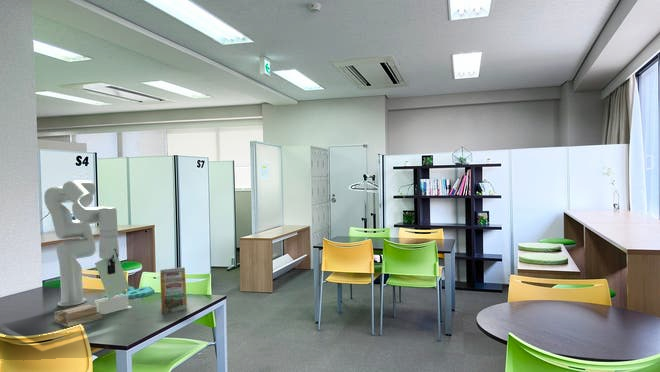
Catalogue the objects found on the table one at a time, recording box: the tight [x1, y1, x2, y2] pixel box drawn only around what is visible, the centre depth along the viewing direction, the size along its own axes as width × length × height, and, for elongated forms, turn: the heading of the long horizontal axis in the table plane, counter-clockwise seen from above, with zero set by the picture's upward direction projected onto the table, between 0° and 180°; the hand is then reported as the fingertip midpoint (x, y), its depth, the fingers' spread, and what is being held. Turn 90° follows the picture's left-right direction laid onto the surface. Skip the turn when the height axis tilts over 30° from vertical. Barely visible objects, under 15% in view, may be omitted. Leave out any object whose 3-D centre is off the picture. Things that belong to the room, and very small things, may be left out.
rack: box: [53, 304, 103, 328], centre depth 184 cm, size 14×13×6 cm
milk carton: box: [159, 266, 188, 315], centre depth 199 cm, size 11×11×19 cm
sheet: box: [94, 257, 130, 299], centre depth 200 cm, size 1×10×18 cm, turn 143°
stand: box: [94, 294, 133, 315], centre depth 199 cm, size 9×13×6 cm
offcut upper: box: [63, 304, 98, 319], centre depth 182 cm, size 6×11×2 cm, turn 143°
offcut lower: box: [63, 312, 98, 325], centre depth 182 cm, size 6×11×2 cm, turn 143°
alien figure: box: [104, 286, 156, 300], centre depth 232 cm, size 20×2×20 cm
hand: (110, 273), depth 199 cm, fingers closed on sheet, 1 cm apart
